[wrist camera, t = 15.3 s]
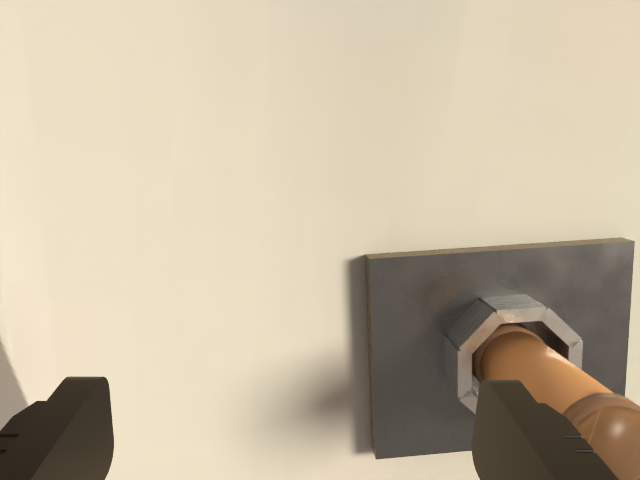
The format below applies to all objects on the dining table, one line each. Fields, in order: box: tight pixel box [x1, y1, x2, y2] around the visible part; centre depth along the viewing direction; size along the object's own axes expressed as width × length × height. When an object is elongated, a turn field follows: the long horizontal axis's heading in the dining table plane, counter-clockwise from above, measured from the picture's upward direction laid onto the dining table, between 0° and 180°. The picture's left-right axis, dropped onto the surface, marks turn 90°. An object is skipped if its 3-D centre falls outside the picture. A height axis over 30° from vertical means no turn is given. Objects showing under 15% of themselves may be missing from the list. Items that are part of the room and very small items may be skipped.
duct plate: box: [366, 238, 635, 459], centre depth 39 cm, size 16×20×4 cm
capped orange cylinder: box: [472, 323, 640, 480], centre depth 33 cm, size 5×5×13 cm
